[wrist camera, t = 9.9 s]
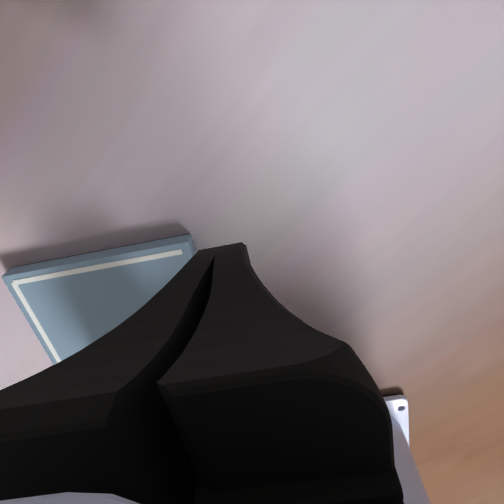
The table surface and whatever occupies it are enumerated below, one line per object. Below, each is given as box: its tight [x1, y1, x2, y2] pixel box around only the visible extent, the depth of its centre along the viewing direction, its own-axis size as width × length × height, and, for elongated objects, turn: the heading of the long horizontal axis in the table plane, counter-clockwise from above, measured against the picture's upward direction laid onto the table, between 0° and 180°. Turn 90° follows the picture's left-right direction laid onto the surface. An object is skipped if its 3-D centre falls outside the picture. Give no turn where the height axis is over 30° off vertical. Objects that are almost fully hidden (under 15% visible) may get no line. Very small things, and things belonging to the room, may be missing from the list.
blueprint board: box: [2, 234, 196, 365], centre depth 24 cm, size 14×11×5 cm
